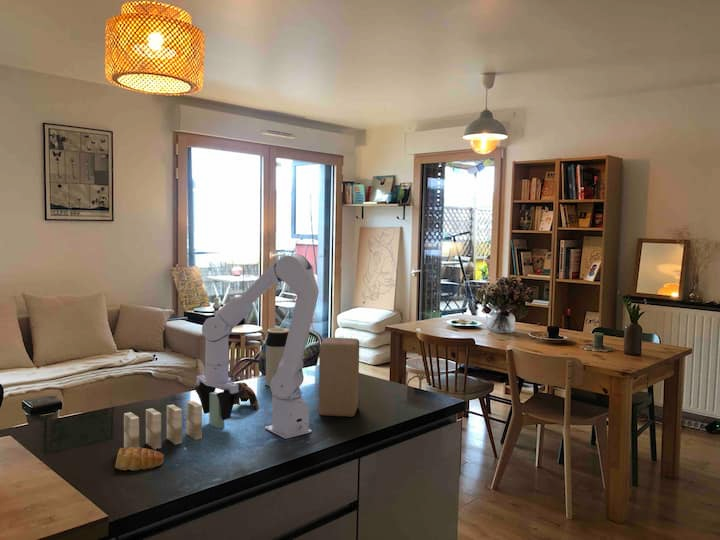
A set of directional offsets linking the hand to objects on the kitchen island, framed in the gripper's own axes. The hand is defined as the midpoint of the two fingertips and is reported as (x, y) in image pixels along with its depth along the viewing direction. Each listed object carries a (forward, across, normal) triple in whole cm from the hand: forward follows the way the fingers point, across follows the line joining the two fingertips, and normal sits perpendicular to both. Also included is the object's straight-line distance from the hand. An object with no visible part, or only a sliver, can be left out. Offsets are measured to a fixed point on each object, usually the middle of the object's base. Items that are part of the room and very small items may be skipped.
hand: (216, 415), depth 150 cm
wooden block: (+3, -16, -30) cm, 34 cm away
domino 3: (+2, -2, +14) cm, 14 cm away
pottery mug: (+3, +7, -14) cm, 16 cm away
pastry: (+3, -8, +27) cm, 28 cm away
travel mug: (+3, +17, -38) cm, 42 cm away
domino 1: (+2, 0, +23) cm, 23 cm away
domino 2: (+2, -1, +18) cm, 19 cm away
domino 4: (+2, -2, +9) cm, 9 cm away
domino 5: (+2, 0, 0) cm, 2 cm away
